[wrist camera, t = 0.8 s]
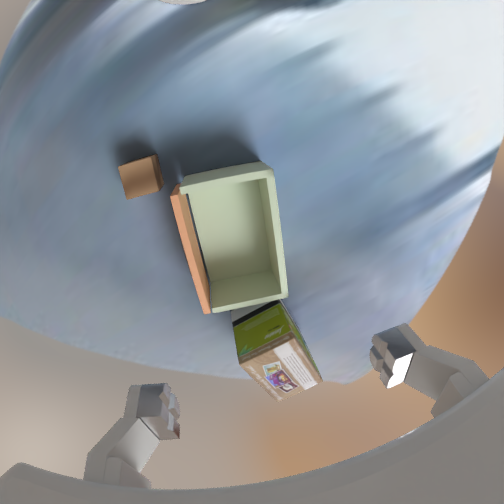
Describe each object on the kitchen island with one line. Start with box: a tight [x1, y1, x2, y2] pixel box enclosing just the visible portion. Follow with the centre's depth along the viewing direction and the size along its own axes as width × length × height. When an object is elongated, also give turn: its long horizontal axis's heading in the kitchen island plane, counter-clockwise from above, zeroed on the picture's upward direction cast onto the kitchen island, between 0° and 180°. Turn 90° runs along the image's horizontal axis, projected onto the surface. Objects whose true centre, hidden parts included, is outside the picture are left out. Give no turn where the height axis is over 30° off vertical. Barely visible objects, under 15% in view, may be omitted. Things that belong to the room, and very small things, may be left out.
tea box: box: [231, 299, 323, 402], centre depth 49 cm, size 15×10×15 cm, turn 28°
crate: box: [179, 161, 288, 313], centre depth 42 cm, size 20×12×8 cm, turn 9°
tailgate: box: [170, 183, 211, 314], centre depth 40 cm, size 19×1×8 cm, turn 9°
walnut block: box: [118, 154, 164, 200], centre depth 37 cm, size 5×5×5 cm
